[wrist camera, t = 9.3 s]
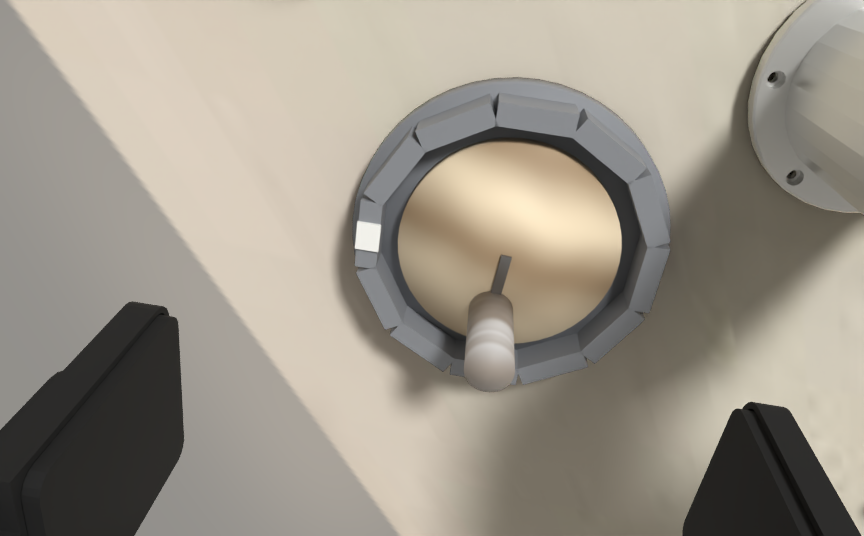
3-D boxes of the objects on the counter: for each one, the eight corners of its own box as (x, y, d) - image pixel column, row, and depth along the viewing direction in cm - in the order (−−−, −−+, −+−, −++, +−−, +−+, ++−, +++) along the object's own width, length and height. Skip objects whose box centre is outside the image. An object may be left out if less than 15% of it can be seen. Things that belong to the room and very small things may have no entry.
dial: (422, 114, 36) (406, 157, 30) (650, 166, 37) (681, 218, 30) (383, 310, 42) (363, 379, 36) (580, 353, 42) (594, 429, 36)
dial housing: (707, 105, 36) (727, 125, 33) (618, 377, 45) (628, 414, 42) (371, 53, 37) (358, 67, 33) (346, 333, 45) (334, 366, 42)
